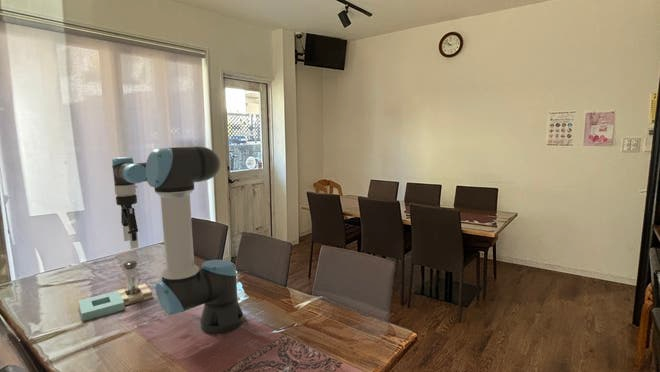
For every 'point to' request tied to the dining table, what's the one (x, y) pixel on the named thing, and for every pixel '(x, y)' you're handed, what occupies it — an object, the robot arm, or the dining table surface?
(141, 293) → the mount
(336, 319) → the dining table surface
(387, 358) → the dining table surface
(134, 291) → the pin
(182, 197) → the robot arm
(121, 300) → the dock
